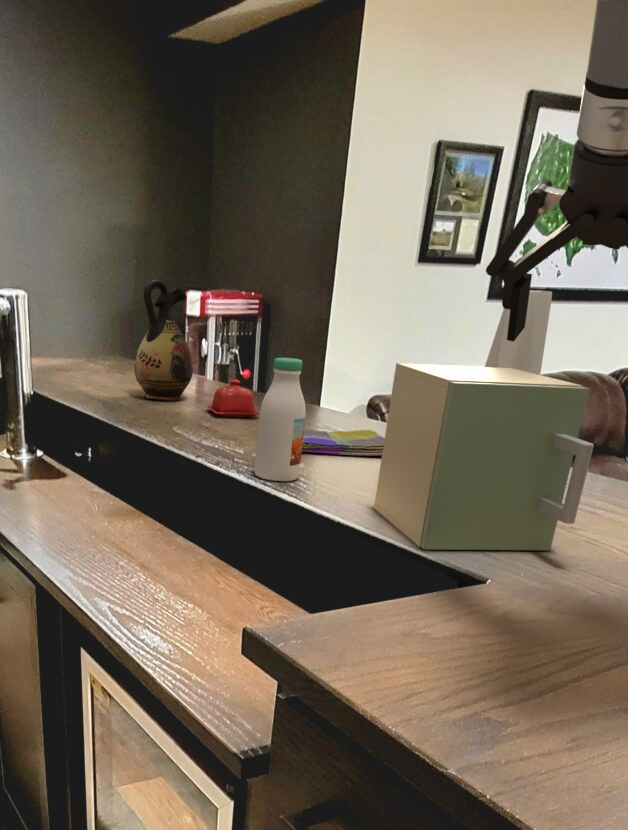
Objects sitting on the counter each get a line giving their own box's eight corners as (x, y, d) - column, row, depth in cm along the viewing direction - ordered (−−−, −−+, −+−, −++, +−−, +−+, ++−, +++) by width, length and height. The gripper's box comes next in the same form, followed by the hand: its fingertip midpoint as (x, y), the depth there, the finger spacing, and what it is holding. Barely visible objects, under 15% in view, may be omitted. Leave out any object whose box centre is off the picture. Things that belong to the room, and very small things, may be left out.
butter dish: (204, 409, 181) (206, 375, 178) (248, 410, 183) (251, 376, 180) (214, 418, 170) (217, 382, 168) (261, 419, 172) (264, 383, 170)
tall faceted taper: (445, 472, 134) (479, 287, 123) (471, 463, 142) (505, 288, 131) (511, 488, 126) (553, 291, 116) (535, 477, 134) (577, 293, 123)
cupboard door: (578, 567, 91) (622, 396, 84) (444, 567, 89) (478, 390, 82) (546, 547, 98) (584, 387, 90) (420, 546, 95) (449, 381, 88)
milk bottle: (275, 484, 120) (288, 362, 113) (244, 473, 125) (255, 356, 119) (308, 479, 124) (322, 361, 118) (276, 468, 130) (288, 355, 123)
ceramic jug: (169, 392, 203) (175, 280, 193) (202, 401, 191) (210, 283, 182) (117, 394, 193) (120, 277, 184) (148, 405, 182) (154, 280, 172)
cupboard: (544, 548, 98) (583, 385, 91) (419, 547, 95) (449, 380, 88) (483, 510, 113) (512, 368, 106) (373, 508, 110) (396, 363, 103)
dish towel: (263, 433, 158) (264, 421, 157) (373, 439, 158) (375, 427, 157) (274, 452, 141) (275, 439, 140) (397, 459, 142) (399, 445, 141)
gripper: (458, 146, 64) (449, 341, 80) (801, 172, 50) (710, 403, 66) (496, 108, 67) (480, 304, 83) (830, 123, 53) (737, 355, 69)
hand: (582, 348), depth 74 cm, fingers open, 13 cm apart
